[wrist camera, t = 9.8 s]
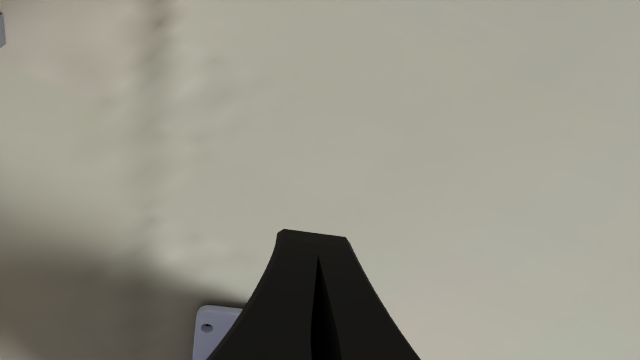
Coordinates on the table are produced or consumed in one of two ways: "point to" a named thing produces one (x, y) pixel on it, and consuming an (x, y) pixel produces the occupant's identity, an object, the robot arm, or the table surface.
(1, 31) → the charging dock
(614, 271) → the table surface
